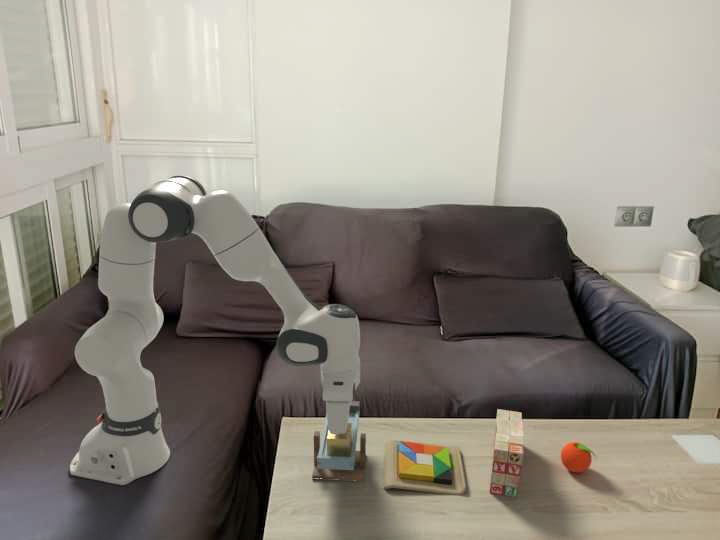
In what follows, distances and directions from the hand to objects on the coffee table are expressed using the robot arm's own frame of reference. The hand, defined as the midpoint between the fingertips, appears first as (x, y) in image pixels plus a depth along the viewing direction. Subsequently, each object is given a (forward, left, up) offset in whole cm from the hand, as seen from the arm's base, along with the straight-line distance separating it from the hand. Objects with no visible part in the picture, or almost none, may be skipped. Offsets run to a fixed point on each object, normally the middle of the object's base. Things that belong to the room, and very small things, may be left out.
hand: (341, 427), depth 132 cm
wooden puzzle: (+20, +2, -13) cm, 23 cm away
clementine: (+57, +4, -12) cm, 58 cm away
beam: (0, +1, -4) cm, 4 cm away
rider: (0, -4, -3) cm, 5 cm away
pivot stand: (0, +1, -12) cm, 12 cm away
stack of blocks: (+40, +4, -12) cm, 42 cm away
